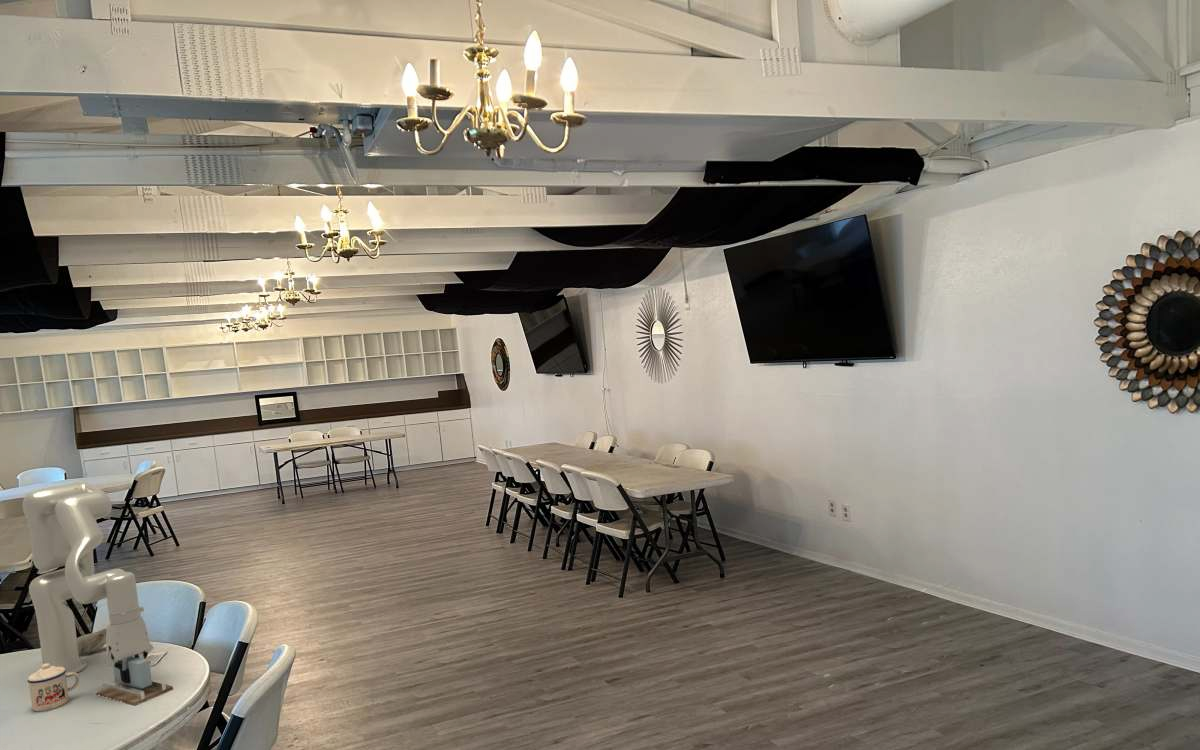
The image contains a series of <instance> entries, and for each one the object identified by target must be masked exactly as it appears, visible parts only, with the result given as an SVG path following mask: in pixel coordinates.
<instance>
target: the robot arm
mask: <svg viewBox="0 0 1200 750" xmlns="http://www.w3.org/2000/svg"><path fill="white" fill-rule="evenodd" d="M112 507H113V506H112V502H111V499H110V497H109V495H108V494H107V493H106V492H104V490H102V489H101V488H99V487H96V486H94V485H92V484H91V483H88V482H84V481H79V482H72V483H67V484H66V483H65V484H62V485H55V486H50V487H45V488H41V489H36V490H33V491H31V492H29V493H27V494H26V495H25V496H24V498H23V500H22V511H23V514H24V517H25V519H26V521H27V524H28V526H29V529H30V540H31V541H30V542H31V553H32V561H33V564H34V567H35V568H36V569H38V570H39V571H40V570H41V571H49V570H52V569H57V568H60V567H64V568H62V569H57V570H54V571H50V572H47V573H43V574H41V575H38V576H37V577H35V578H33V579H32V581H30V584H29V586H28V592H29V596H30V598H31V601H32V604H33V608H34V610H35V616H36V622H37V631H38V636H39V645H40V651H41V653H40V654H41V659H42V661H41V662H42V665H43V664H47V663H49V664H50V666H55V667H64V668H65V670H66V674H67V673H71V672H74V673H77V674H78V673H79V672H81V671H83V670H84V669H85V668H86V667H87V662H86V661H84V660H80V655H79V651H78V644H77V638H78V637H77V631H76V629H77V628H76V622H75V617H74V616H75V615H74V613H73V610H72V609H71V608H70V607H69V606H67V605H66V604H64V603H63V602H64V601H68V600H70V599H73V598H74V600H75V601H76V602H77V603H79V604H81V605H88V604H91V603H95V602H99V601H101V600H105V599H106V602H107V611H108V612H107V613H108V618H109V624H108V625H107V626H106V628H107V631H106V644H105V648H106V657H107V658H106V661H105V666H107V667H112V668H113V667H115V668H117V669H119V670H120V676H121V680H122V681H123V683H127V684H128V683H130V674H129V669H127V658H129V657H132V656H134V657H137V658H142V659H145V658H146V657H147V655H148V654H149V653H152V651H153V649H154V646H153V644H152V643H151V642H150V639H149V633H148V629H147V626H146V623H145V621H144V618H143V616H141V615H142V614H141V613H143V612H144V611H145V608H144V607H143V606H141V607H140V604H139V596H138V589H137V582H136V576H135V574H134V573H133V572H131V571H125V570H124V569H121V568H113V569H109V570H106V571H102V572H99V573H95V563H94V549H96V548H97V547H98V546H100V544H101V543H102V542H103V540H104V534H103V532H102V530H101V529H100V526H99V524H98V523H97V519H102V518H106V517H108V516H109V515H110V514H111V512H112ZM114 659H115V660H116V661H117V662H113V660H114Z"/></svg>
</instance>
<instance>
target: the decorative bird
mask: <svg viewBox="0 0 1200 750" xmlns="http://www.w3.org/2000/svg"><path fill="white" fill-rule="evenodd" d="M106 631H107V627H106V628H102V629H100V630H98V631H95V632H91V633H87V634H84V635H81V636H79V637H77V644H78V651H79V656H82V655H86V654H91V653H93V652H95V651H98V650H100V649H102V648H103V647H104V646H106Z"/></svg>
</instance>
